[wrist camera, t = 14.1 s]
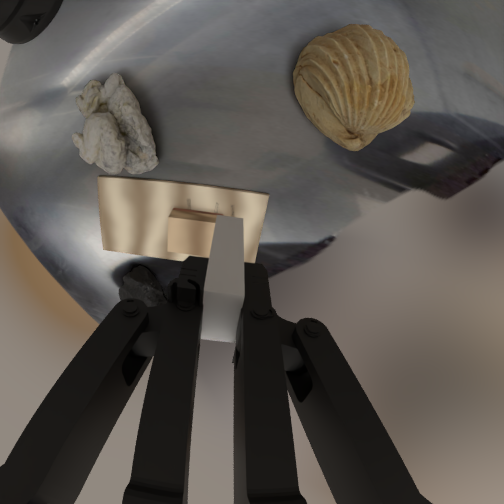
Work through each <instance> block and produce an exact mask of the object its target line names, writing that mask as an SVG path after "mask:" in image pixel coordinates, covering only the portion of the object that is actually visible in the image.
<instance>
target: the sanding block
mask: <svg viewBox="0 0 504 504" xmlns="http://www.w3.org/2000/svg"><path fill="white" fill-rule="evenodd" d="M217 215H222V216H223V214H219V213H211V212H204V211H196V210H188V209H179V208H173V210H172V211H171V213H170V215H169V217H168V248H167V252H175V253H182V254H190V255H197V256H205V257H209V256H210V250H211V244H212V239H213V233H214V228H215V223H216V217H217Z"/></svg>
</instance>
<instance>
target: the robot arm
mask: <svg viewBox="0 0 504 504" xmlns="http://www.w3.org/2000/svg"><path fill="white" fill-rule="evenodd" d="M62 1H63V0H0V38H1V39H3V40H5V41H6V42H8V43H11V44H23V43H26V42H28V41H30V40H32V39H33V38H35V37H36V36H37V35H38V34H40V33H41V32H42V31H43V30H44V29H45V28H46V26H47V25H48V24H49V23H50V22H51V20H52V19H53V17H54V16H55V14H56V13H57V11H58V9H59V7H60V5H61V3H62ZM200 339H206V340H216V341H224V342H234V343H235V340H236V347H235V352H234V356H233V361H232V363H234V504H307V502H306V500H305V498H304V497H303V496H302V495H301V494H300V491H299V486H298V477H297V468H296V459H295V450H294V441H293V433H292V425H291V416H290V408H289V402H288V401H289V400H288V393H287V390H288V392H289V395H290V397H291V399H292V402H293V404H294V407H295V409H296V411H297V414H298V416H299V418H300V421H301V423H302V426H303V428H304V430H305V433H306V435H307V437H308V440H309V442H310V444H311V447H312V449H313V451H314V454H315V456H316V458H317V461H318V463H319V465H320V467H321V469H322V472H323V474H324V477H325V479H326V481H327V483H328V486H329V487H330V490H331V492H332V494H333V496H334V499H335V501H336V503H337V504H432V503H431V502H429V501H428V500H427V499H426V498H424V497H423V496H422V495H421V494H420V493H419V491H418V489H417V487H416V485H415V483H414V481H413V479H412V477H411V476H410V474H409V472H408V470H407V468H406V466H405V464H404V462H403V460H402V458H401V457H400V455H399V453H398V451H397V449H396V448H395V446H394V444H393V442H392V440H391V438H390V437H389V435H388V433H387V431H386V429H385V427H384V426H383V424H382V422H381V420H380V418H379V417H378V415H377V413H376V411H375V410H374V408H373V406H372V404H371V402H370V401H369V399H368V397H367V395H366V394H365V392H364V390H363V389H362V387H361V385H360V383H359V382H358V380H357V378H356V376H355V375H354V373H353V371H352V369H351V368H350V366H349V364H348V363H347V361H346V359H345V358H344V356H343V354H342V353H341V351H340V349H339V347H338V346H337V344H336V342H335V341H334V339H333V337H332V336H331V334H330V332H329V331H328V329H327V327H326V326H325V325H324V324H323V323H321V322H320V321H318V320H316V319H313V318H304V319H301V320H299V321H298V322H297V324H296V323H293V322H290V321H287V320H285V319H282V318H281V317H279V316H278V315H277V313H276V311H275V309H274V308H273V307H272V305H271V297H270V289H269V282H268V274H267V270H266V269H265V267H264V266H263V265H262V264H258V263H249V262H244V226H243V218H237V217H230V216H222V215H217V217H216V223H215V228H214V233H213V239H212V244H211V250H210V256H209V258H204V257H197V256H188V257H187V258H186V259H185V260H184V261H183V264H182V267H181V271H180V275H179V278H175V279H174V280H172V281H170V283H169V284H168V302H167V303H166V304H163V305H160V306H153V307H147V305H146V304H145V303H144V302H143V301H141V300H139V299H135V298H127V299H124V300H122V301H120V302H119V303H117V304H116V305H115V307H114V308H113V309H112V310H111V311H110V313H109V314H108V315H107V316H106V317H105V319H104V320H103V321H102V322H101V324H100V325H99V326H98V327H97V329H96V330H95V331H94V333H93V334H92V335H91V336H90V338H89V339H88V340H87V341H86V343H85V344H84V345H83V346H82V348H81V349H80V350H79V352H78V353H77V354H76V356H75V357H74V358H73V360H72V361H71V362H70V364H69V365H68V366H67V368H66V369H65V370H64V372H63V373H62V375H61V376H60V377H59V379H58V380H57V381H56V383H55V384H54V386H53V387H52V389H51V390H50V391H49V393H48V394H47V396H46V397H45V399H44V400H43V402H42V403H41V405H40V406H39V408H38V409H37V411H36V412H35V414H34V415H33V417H32V418H31V420H30V421H29V423H28V425H27V426H26V428H25V429H24V431H23V433H22V434H21V436H20V438H19V439H18V441H17V443H16V444H15V446H14V448H13V450H12V452H11V453H10V455H9V457H8V458H7V460H6V462H5V464H3V465H2V466H1V467H0V504H74V502H75V501H76V499H77V497H78V495H79V494H80V492H81V490H82V488H83V485H84V484H85V481H86V480H87V478H88V475H89V473H90V472H91V470H92V468H93V466H94V464H95V462H96V460H97V458H98V456H99V454H100V452H101V450H102V448H103V446H104V444H105V442H106V441H107V439H108V437H109V435H110V433H111V431H112V429H113V427H114V426H115V424H116V422H117V420H118V418H119V416H120V414H121V413H122V411H123V409H124V407H125V405H126V403H127V402H128V400H129V398H130V396H131V394H132V393H133V391H134V389H135V387H136V385H137V384H138V382H139V380H140V378H141V377H142V375H143V373H144V371H145V370H146V368H147V366H148V364H149V363H150V361H151V359H152V357H153V356H154V358H153V363H152V367H151V371H150V375H149V380H148V385H147V389H146V394H145V398H144V403H143V408H142V413H141V418H140V424H139V429H138V435H137V440H136V446H135V453H134V459H133V466H132V473H131V479H130V482H129V484H128V485H127V487H126V489H125V492H124V496H123V501H122V504H187V503H188V502H187V500H188V476H189V460H190V445H191V431H192V420H193V409H194V397H195V387H196V377H197V369H198V360H199V359H198V358H199V350H200Z"/></svg>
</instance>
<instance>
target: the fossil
mask: <svg viewBox="0 0 504 504" xmlns="http://www.w3.org/2000/svg"><path fill="white" fill-rule="evenodd" d="M293 83H294V87H295V89H294V91H295V95H296V97H297V99H298V101H299V103H300V105H301V107H302V109H303V111H304V113H305V115H306V117H307V118H308V119H309V120H311V122H312V123H313V124H314V125H315V126H316V128H317V129H318V130H319V131H321V132H322V133H323V134H324V135H325V136H327V137H329V138H330V139H331V140H332V141H334V142H335V143H337V144H339V145H340V146H342V147H344V148H346V149H348V150H351V151H358V150H360V149H362V148H363V147H365V146H366V145H368V144H369V143H371V141H372V140H373V139H374V138H375V137H376V136H377V135H378V133H380V132H384V131H386V130H389V129H391V128H393V127H395V126H396V125H398V124H399V123H401V122H402V121H403V120H404V119H406V118H407V117H408V116H409V115H410V110H411V108H412V107H413V105H414V103H415V102H414V95H413V87H412V83H411V80H410V78H409V64H408V61H407V57H406V55H405V53H404V52H403V51H402V50H401V49H399V48H398V46H397V45H396V43H395V42H394V41H393V40H392V39H391V38H389V37H387V36H385V35H384V34H383V32H382V31H380V30H376V29H372V27H371V26H369V25H358V24H349V25H347V26H346V27H343V28H341V29H339V30H337V31H335V32H333V33H327V34H326V35H324V36H317V37H316V38H314V39H313V40H312V41H311V42H309V43H308V45H307V46H306V47H304V48H303V50H302V51H301V53H300V55H299V58H298V62H297V64H296V67H295V70H294V72H293Z"/></svg>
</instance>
